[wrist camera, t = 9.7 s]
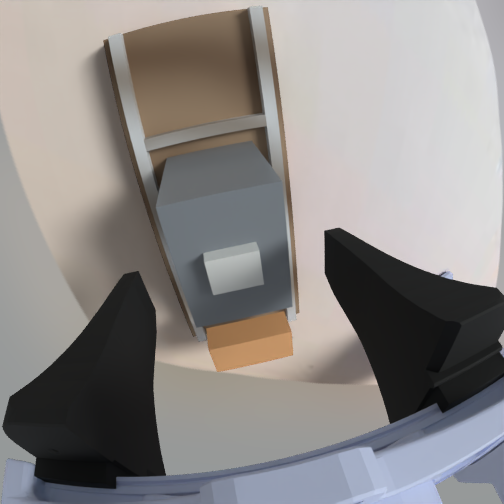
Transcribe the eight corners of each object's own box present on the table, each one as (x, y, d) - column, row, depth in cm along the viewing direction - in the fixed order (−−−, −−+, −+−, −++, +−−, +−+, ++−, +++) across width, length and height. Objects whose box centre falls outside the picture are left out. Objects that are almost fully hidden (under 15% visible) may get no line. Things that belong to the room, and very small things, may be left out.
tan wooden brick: (286, 335, 21) (293, 355, 20) (214, 351, 21) (217, 372, 19) (283, 311, 20) (291, 331, 18) (206, 328, 20) (208, 350, 18)
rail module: (264, 238, 19) (296, 316, 14) (192, 253, 19) (197, 337, 13) (251, 140, 16) (287, 187, 10) (166, 157, 15) (154, 215, 10)
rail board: (295, 304, 24) (301, 318, 23) (192, 326, 23) (193, 342, 22) (263, 10, 13) (270, 5, 11) (108, 41, 12) (100, 39, 11)
